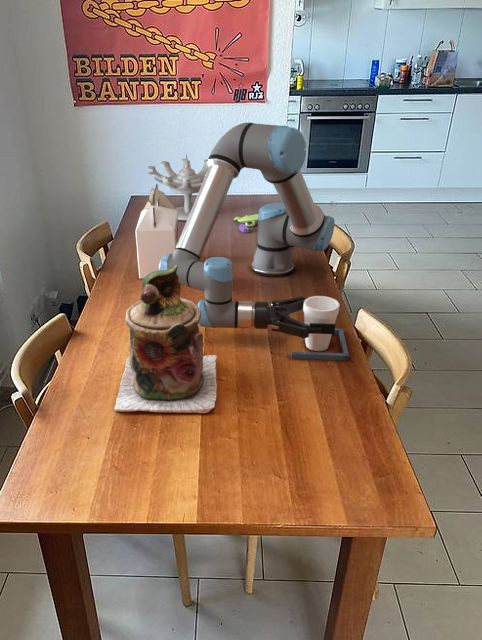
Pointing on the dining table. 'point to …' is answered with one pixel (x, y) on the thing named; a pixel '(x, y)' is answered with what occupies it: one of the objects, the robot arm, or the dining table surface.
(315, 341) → the foam cup
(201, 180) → the candelabra
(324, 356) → the bay
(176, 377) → the cookie jar
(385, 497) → the dining table surface
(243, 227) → the toy airplane
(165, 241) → the gable box
